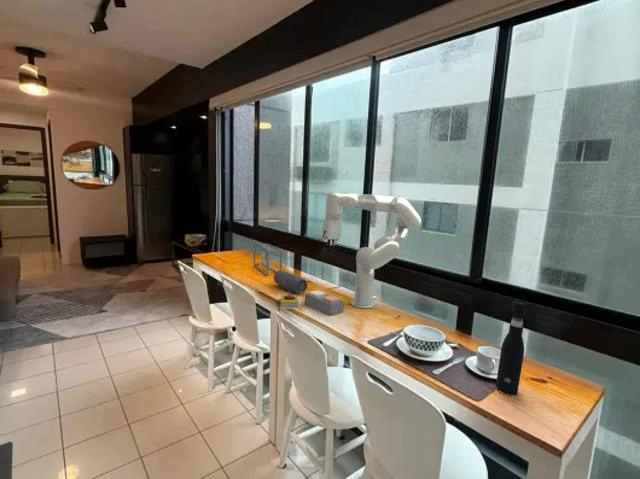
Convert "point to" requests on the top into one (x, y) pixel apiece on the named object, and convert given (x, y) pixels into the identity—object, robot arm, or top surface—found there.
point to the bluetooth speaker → (290, 282)
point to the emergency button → (289, 302)
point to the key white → (317, 293)
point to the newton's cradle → (267, 258)
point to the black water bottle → (512, 353)
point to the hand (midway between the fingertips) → (330, 252)
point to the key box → (324, 305)
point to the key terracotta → (331, 299)
